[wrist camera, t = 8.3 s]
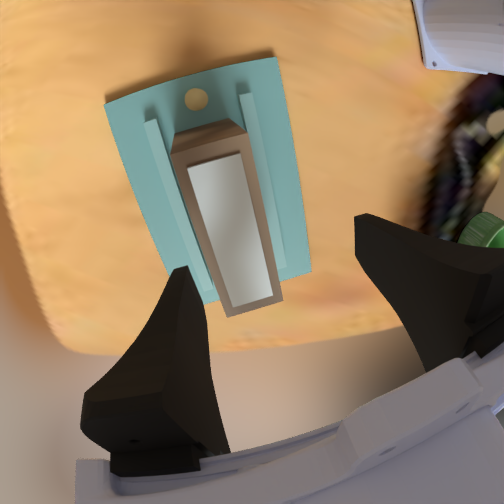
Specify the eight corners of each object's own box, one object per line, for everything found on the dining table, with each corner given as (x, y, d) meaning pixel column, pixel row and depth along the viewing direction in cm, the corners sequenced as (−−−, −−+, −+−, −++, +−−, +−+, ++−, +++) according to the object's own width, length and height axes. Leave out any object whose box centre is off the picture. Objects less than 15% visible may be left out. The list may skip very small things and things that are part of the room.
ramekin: (449, 281, 33) (469, 302, 29) (450, 226, 28) (477, 247, 24) (491, 250, 32) (511, 267, 28) (495, 195, 27) (521, 211, 23)
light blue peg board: (274, 57, 16) (292, 52, 13) (309, 267, 26) (325, 294, 23) (105, 104, 16) (89, 109, 13) (184, 304, 25) (187, 335, 22)
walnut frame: (228, 117, 17) (248, 133, 12) (260, 249, 23) (284, 302, 18) (174, 133, 17) (169, 155, 12) (215, 262, 23) (227, 319, 18)
